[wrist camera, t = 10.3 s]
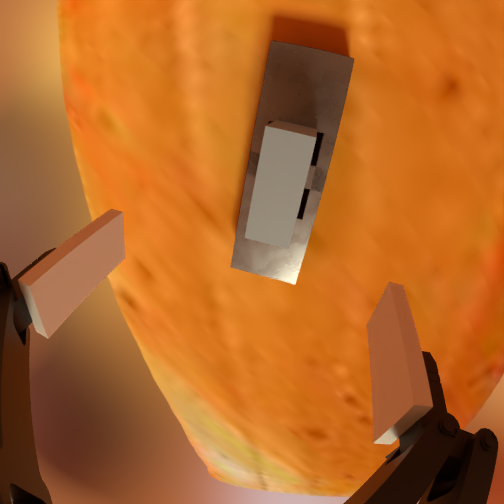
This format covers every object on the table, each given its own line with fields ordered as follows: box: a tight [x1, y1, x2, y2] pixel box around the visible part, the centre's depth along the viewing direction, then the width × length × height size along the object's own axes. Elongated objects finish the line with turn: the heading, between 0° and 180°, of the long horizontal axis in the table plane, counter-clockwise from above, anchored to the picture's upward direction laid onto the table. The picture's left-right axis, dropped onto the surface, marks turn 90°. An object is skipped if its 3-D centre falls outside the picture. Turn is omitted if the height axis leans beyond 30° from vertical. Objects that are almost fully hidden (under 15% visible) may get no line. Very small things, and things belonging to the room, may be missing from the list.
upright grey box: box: [245, 120, 317, 249], centre depth 29 cm, size 10×4×10 cm, turn 170°
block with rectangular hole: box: [231, 41, 354, 284], centre depth 32 cm, size 26×8×4 cm, turn 170°
